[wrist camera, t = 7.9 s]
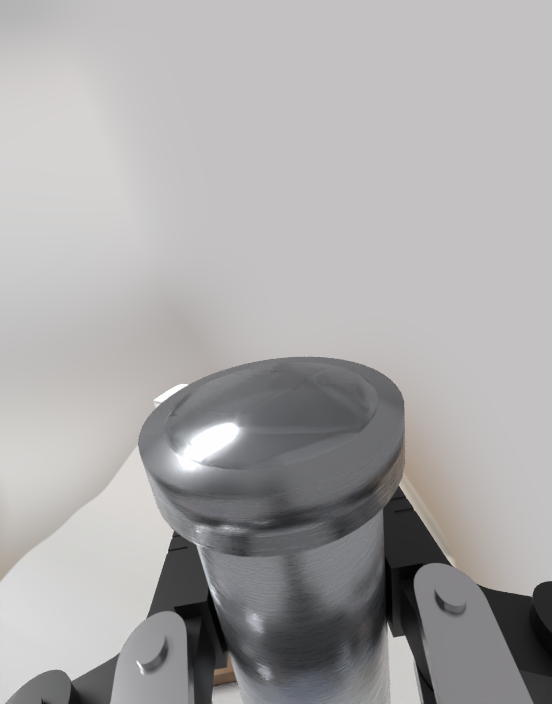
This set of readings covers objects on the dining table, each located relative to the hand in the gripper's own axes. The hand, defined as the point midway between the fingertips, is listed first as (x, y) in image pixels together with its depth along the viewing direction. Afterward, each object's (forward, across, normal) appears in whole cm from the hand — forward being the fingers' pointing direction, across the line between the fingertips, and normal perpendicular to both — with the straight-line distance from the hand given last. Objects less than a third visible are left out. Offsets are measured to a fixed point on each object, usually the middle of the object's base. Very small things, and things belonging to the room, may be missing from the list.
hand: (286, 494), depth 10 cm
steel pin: (-3, 0, +7) cm, 8 cm away
